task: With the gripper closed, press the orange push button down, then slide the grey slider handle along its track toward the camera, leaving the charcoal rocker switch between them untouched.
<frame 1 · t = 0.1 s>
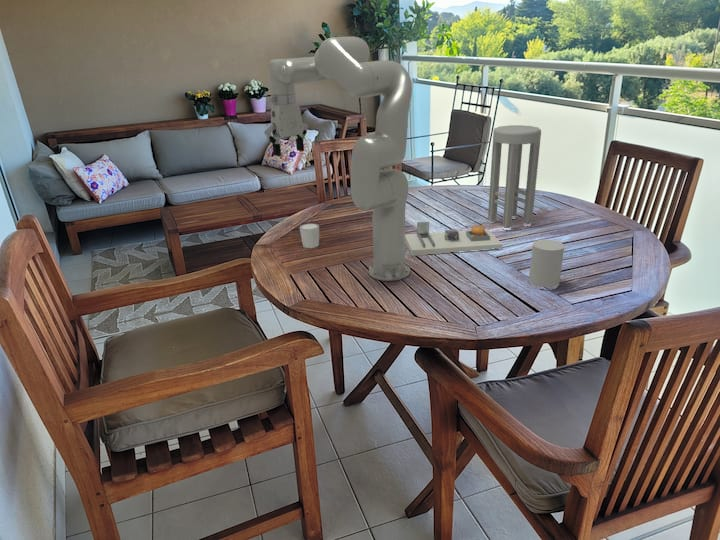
hand: (289, 153, 175), 31 cm above the table, tool pointing down, fingers open, 9 cm apart
shot glass: (311, 245, 182), on the table
cup: (543, 284, 147), on the table
switch panel: (451, 244, 177), on the table
push button: (478, 230, 176), point 5 cm above the table, slide at 0.0 cm
rocker switch: (451, 233, 175), point 4 cm above the table, hinge at 12.0°
stool: (509, 224, 194), on the table
grey slider handle: (423, 229, 179), point 5 cm above the table, slide at 0.0 cm
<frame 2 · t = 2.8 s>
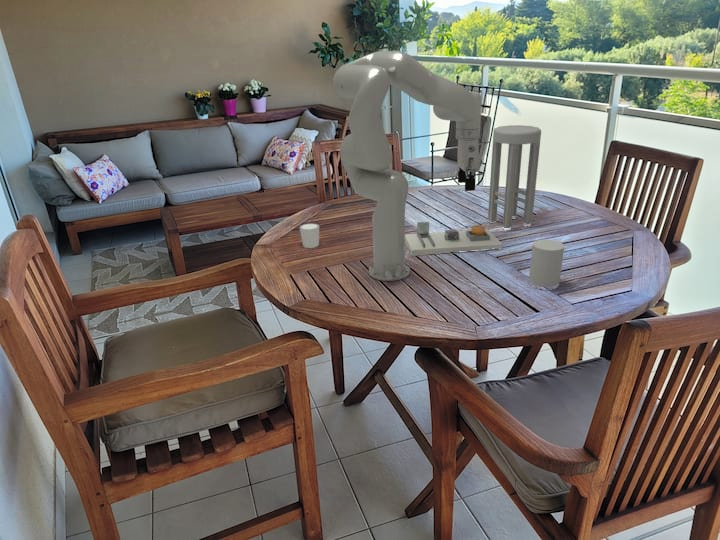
hand: (466, 186, 171), 20 cm above the table, tool pointing down, fingers open, 9 cm apart
nothing on the table moved.
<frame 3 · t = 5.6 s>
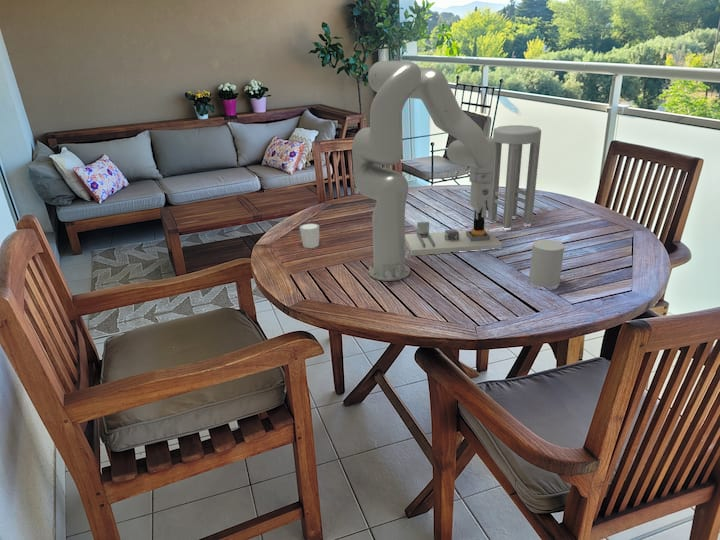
hand: (478, 229, 176), 5 cm above the table, tool pointing down, fingers closed
push button: (477, 232, 176), point 4 cm above the table, slide at 0.8 cm, touching gripper
everything else where it was.
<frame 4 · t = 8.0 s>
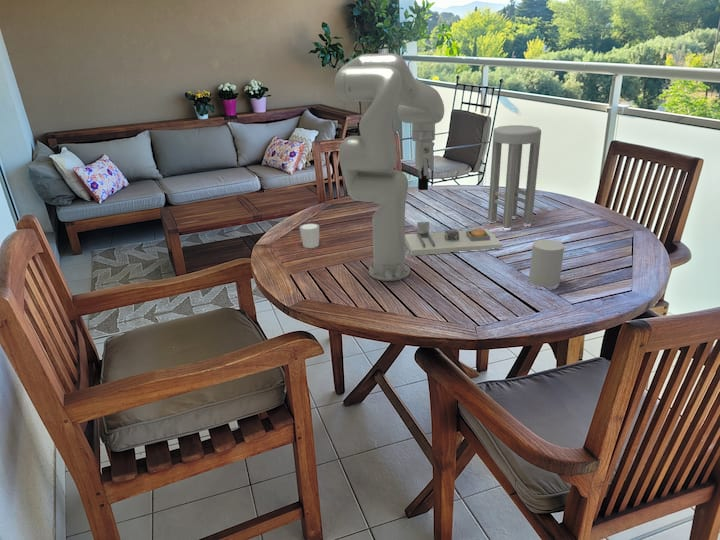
hand: (422, 189, 179), 17 cm above the table, tool pointing down, fingers closed
push button: (477, 234, 176), point 3 cm above the table, slide at 1.5 cm
everything else where it was.
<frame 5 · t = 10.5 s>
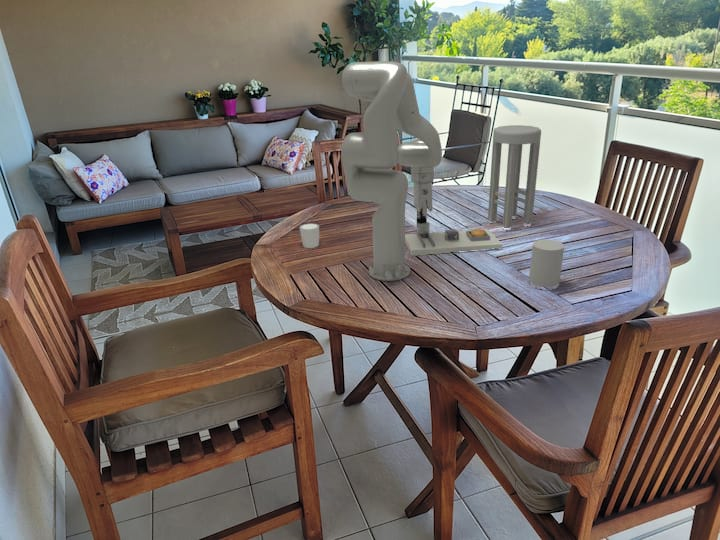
hand: (421, 228, 181), 4 cm above the table, tool pointing down, fingers closed
grey slider handle: (423, 229, 178), point 5 cm above the table, slide at 0.5 cm, touching gripper
everything else where it was.
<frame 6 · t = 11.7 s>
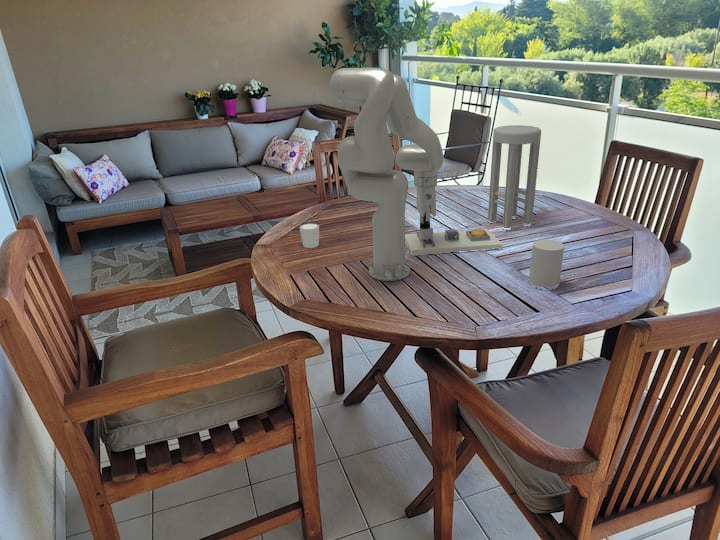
hand: (424, 233, 176), 4 cm above the table, tool pointing down, fingers closed
grey slider handle: (426, 235, 173), point 5 cm above the table, slide at 6.1 cm, touching gripper
everything else where it was.
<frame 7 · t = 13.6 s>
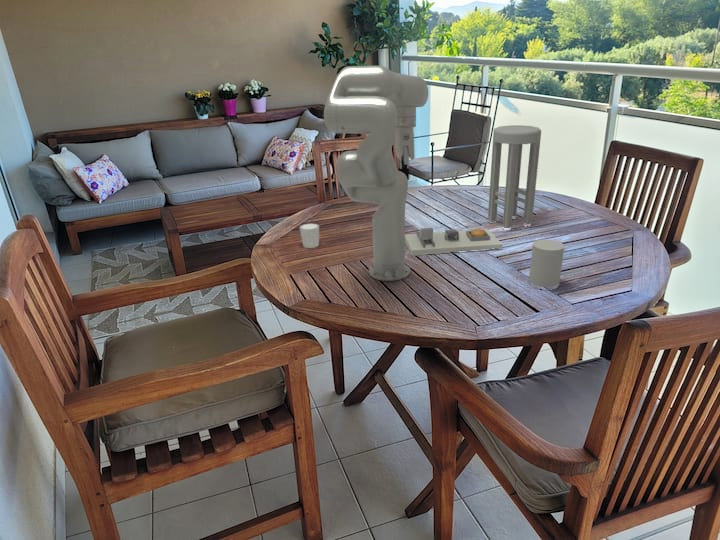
hand: (403, 180, 169), 23 cm above the table, tool pointing down, fingers closed
grey slider handle: (426, 235, 173), point 5 cm above the table, slide at 6.3 cm
everything else where it was.
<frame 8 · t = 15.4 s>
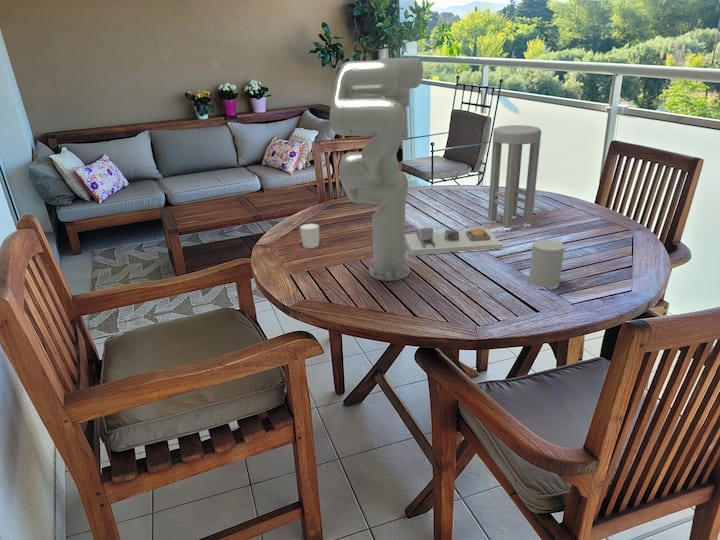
hand: (397, 161, 166), 29 cm above the table, tool pointing down, fingers closed
nothing on the table moved.
at the end: push button slide at 1.5 cm; grey slider handle slide at 6.3 cm; rocker switch at +12° (first picture: +12°) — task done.
